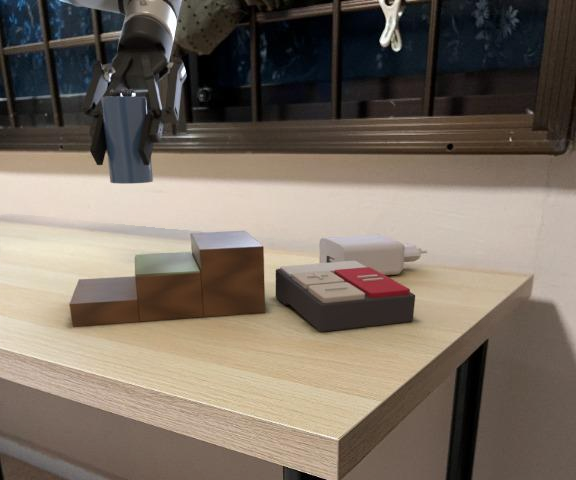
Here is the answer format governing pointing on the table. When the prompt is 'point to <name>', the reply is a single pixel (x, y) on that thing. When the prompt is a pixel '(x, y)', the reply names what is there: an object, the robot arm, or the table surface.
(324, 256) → the charger
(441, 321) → the table surface
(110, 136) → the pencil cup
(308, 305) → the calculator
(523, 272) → the table surface
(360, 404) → the table surface
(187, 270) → the step shelf
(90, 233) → the table surface
